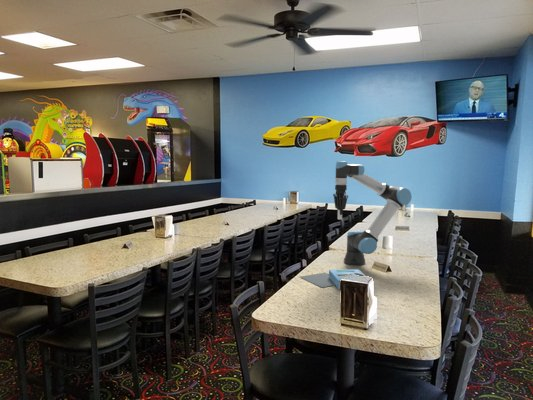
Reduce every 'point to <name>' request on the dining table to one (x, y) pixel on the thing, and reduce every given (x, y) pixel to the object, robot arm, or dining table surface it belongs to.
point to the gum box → (342, 275)
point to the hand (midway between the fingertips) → (339, 219)
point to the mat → (319, 279)
